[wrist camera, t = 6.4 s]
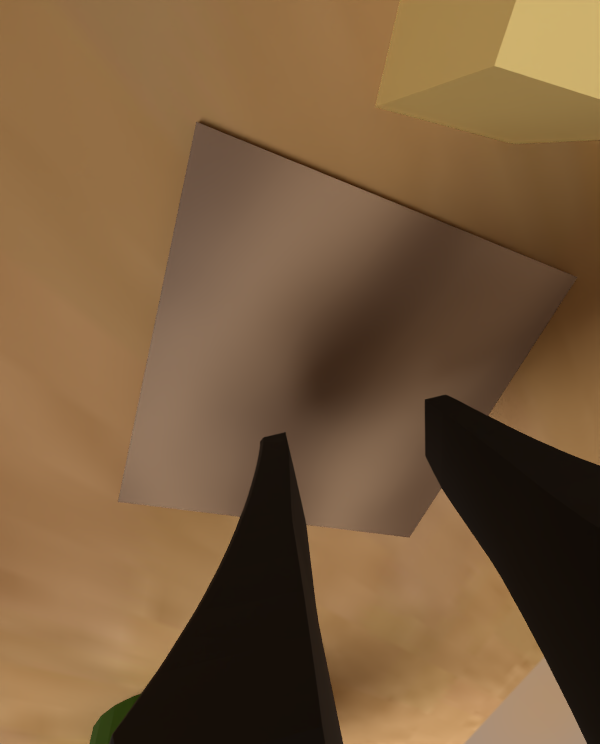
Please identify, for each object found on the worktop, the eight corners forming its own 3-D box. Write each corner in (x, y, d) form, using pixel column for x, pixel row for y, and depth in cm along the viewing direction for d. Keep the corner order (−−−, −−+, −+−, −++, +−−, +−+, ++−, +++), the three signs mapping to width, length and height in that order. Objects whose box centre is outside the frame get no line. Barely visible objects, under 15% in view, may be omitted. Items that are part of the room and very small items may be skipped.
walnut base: (550, 268, 14) (577, 277, 13) (399, 515, 18) (409, 537, 17) (199, 125, 10) (196, 121, 9) (125, 477, 15) (117, 501, 14)
